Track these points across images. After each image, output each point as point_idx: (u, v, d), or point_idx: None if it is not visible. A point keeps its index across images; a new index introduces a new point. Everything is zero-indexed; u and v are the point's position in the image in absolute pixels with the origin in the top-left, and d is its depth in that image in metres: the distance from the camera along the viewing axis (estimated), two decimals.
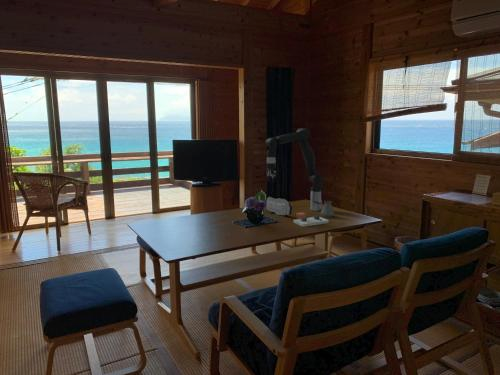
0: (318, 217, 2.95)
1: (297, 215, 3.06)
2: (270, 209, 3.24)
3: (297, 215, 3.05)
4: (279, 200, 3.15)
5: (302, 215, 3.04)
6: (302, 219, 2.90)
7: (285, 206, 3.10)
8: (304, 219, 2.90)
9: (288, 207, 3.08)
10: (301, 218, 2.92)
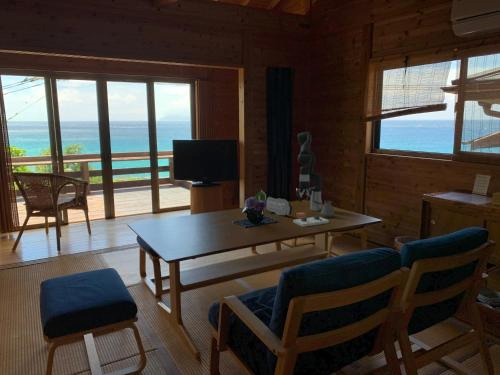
0: (318, 217, 2.95)
1: (297, 215, 3.06)
2: (270, 209, 3.24)
3: (297, 215, 3.05)
4: (279, 200, 3.15)
5: (302, 215, 3.04)
6: (302, 219, 2.90)
7: (285, 206, 3.10)
8: (304, 219, 2.90)
9: (288, 207, 3.08)
10: (301, 218, 2.92)
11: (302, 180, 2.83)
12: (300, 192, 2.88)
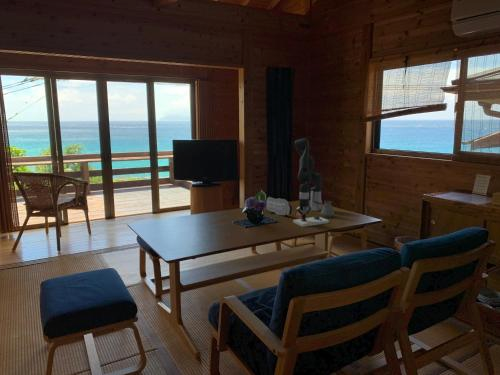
0: (318, 217, 2.95)
1: (297, 215, 3.06)
2: (270, 209, 3.24)
3: (297, 215, 3.05)
4: (279, 200, 3.15)
5: None
6: None
7: (285, 206, 3.10)
8: None
9: (288, 207, 3.08)
10: (301, 220, 2.92)
11: (302, 198, 2.85)
12: None
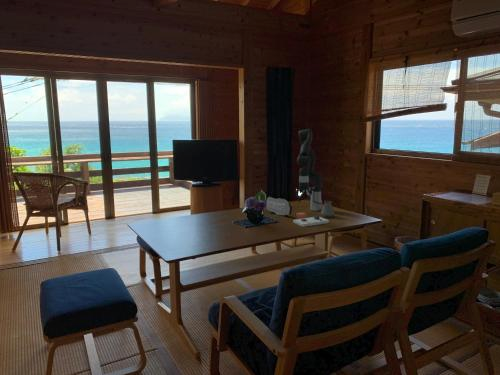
0: (318, 217, 2.95)
1: (297, 215, 3.06)
2: (270, 209, 3.24)
3: (297, 215, 3.05)
4: (279, 200, 3.15)
5: (302, 215, 3.04)
6: None
7: (285, 206, 3.10)
8: None
9: (288, 207, 3.08)
10: (301, 220, 2.92)
11: (302, 181, 2.91)
12: (299, 192, 2.96)
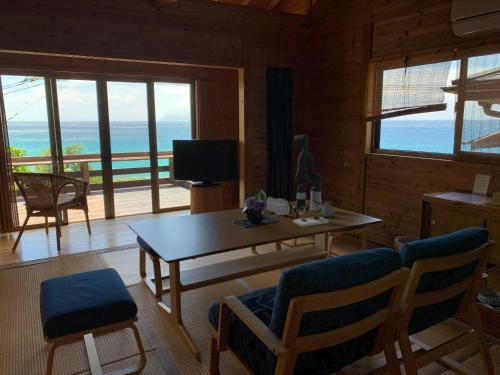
0: (318, 217, 2.95)
1: None
2: (270, 209, 3.24)
3: None
4: (279, 200, 3.15)
5: (302, 215, 3.04)
6: None
7: (285, 206, 3.10)
8: None
9: (288, 207, 3.08)
10: (301, 220, 2.92)
11: (299, 198, 3.01)
12: (297, 209, 3.06)
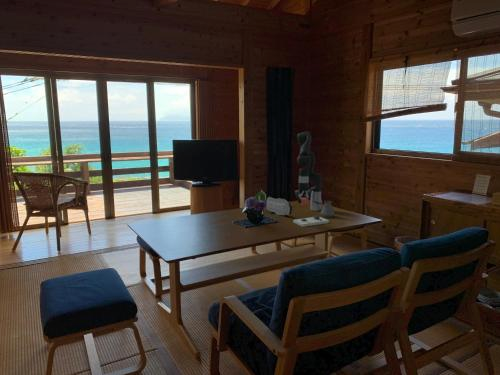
0: (318, 217, 2.95)
1: None
2: (270, 209, 3.24)
3: None
4: (279, 200, 3.15)
5: (304, 200, 2.86)
6: None
7: (285, 206, 3.10)
8: None
9: (288, 207, 3.08)
10: (301, 220, 2.92)
11: (301, 182, 2.84)
12: (299, 194, 2.88)
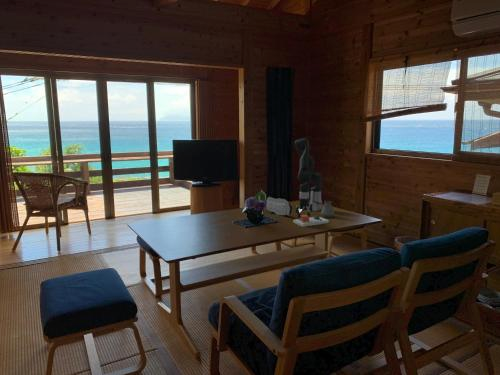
0: (318, 217, 2.95)
1: None
2: (270, 209, 3.24)
3: None
4: (279, 200, 3.15)
5: (305, 217, 2.88)
6: None
7: (285, 206, 3.10)
8: None
9: (288, 207, 3.08)
10: None
11: (302, 197, 2.85)
12: (299, 209, 2.90)
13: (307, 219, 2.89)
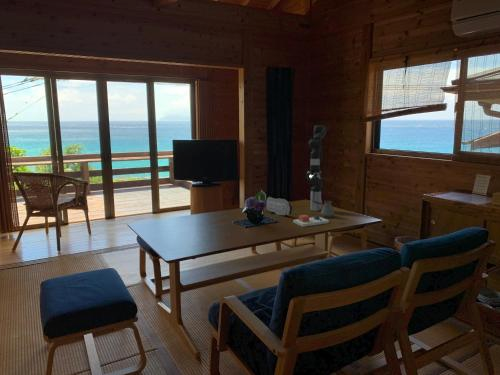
0: (318, 217, 2.95)
1: (300, 217, 2.91)
2: (270, 209, 3.24)
3: (300, 217, 2.90)
4: (279, 200, 3.15)
5: (305, 217, 2.88)
6: None
7: (285, 206, 3.10)
8: None
9: (288, 207, 3.08)
10: None
11: (313, 164, 3.00)
12: (310, 175, 3.04)
13: (307, 219, 2.89)
